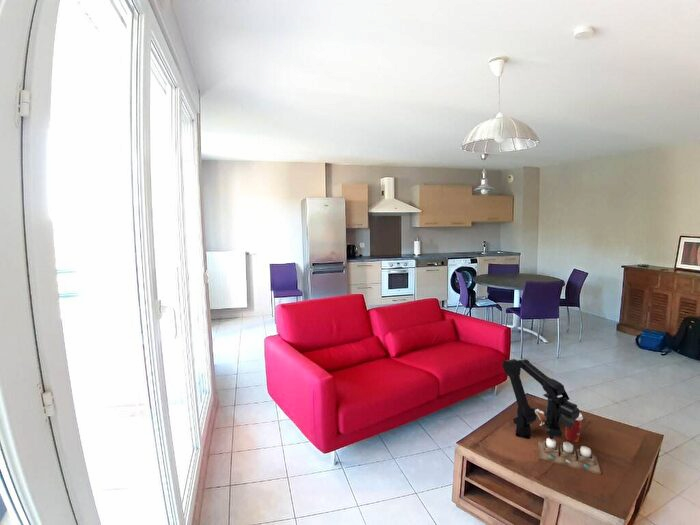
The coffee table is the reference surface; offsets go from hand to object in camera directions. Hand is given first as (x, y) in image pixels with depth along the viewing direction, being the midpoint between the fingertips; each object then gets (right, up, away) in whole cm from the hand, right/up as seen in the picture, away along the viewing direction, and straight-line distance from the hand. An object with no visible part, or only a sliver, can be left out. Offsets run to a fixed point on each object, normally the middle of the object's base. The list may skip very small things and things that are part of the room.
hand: (551, 438), depth 167 cm
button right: (+13, -5, -6) cm, 15 cm away
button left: (0, -4, 0) cm, 4 cm away
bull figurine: (+10, -5, +22) cm, 25 cm away
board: (+6, -8, -3) cm, 10 cm away
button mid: (+6, -5, -3) cm, 8 cm away
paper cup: (+17, -6, +11) cm, 22 cm away
